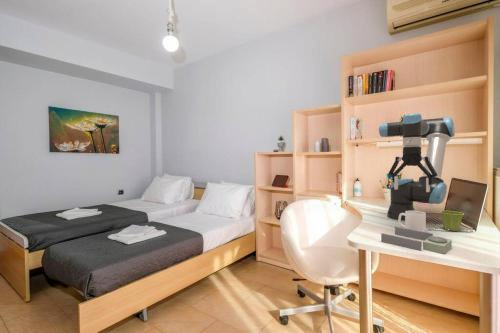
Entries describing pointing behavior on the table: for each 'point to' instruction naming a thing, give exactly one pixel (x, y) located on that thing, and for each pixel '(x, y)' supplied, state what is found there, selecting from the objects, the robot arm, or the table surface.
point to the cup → (414, 220)
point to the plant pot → (452, 220)
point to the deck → (429, 244)
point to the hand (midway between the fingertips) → (411, 190)
